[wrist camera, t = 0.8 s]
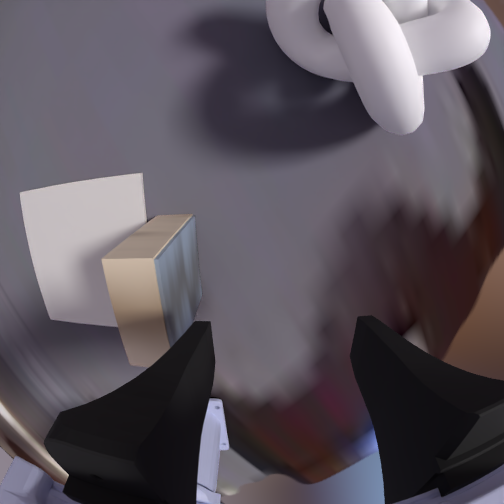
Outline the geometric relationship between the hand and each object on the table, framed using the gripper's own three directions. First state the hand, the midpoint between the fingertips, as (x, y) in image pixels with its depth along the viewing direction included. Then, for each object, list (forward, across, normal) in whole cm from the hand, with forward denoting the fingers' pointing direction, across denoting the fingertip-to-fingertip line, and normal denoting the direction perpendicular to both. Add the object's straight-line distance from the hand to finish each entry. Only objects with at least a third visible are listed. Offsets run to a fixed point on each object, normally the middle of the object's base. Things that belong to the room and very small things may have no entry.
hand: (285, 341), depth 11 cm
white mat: (+9, +14, 0) cm, 17 cm away
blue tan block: (+10, +6, 0) cm, 12 cm away
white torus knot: (+10, -6, -15) cm, 19 cm away
